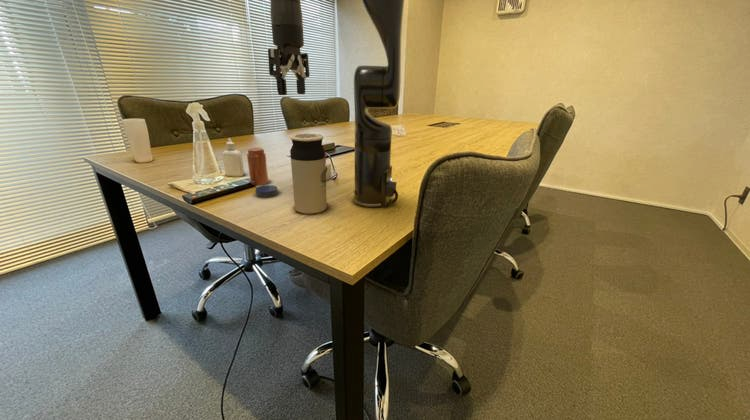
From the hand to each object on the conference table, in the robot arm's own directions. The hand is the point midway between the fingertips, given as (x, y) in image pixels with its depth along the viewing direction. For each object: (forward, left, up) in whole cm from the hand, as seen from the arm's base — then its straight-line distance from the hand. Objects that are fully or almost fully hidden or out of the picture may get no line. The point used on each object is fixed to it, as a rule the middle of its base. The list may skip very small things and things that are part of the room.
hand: (292, 94), depth 81 cm
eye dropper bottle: (+25, -3, -26) cm, 36 cm away
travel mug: (-11, +14, -26) cm, 32 cm away
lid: (+5, +9, -25) cm, 27 cm away
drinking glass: (+67, -6, -26) cm, 72 cm away
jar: (+13, +1, -26) cm, 29 cm away
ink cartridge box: (-3, -6, -26) cm, 27 cm away
